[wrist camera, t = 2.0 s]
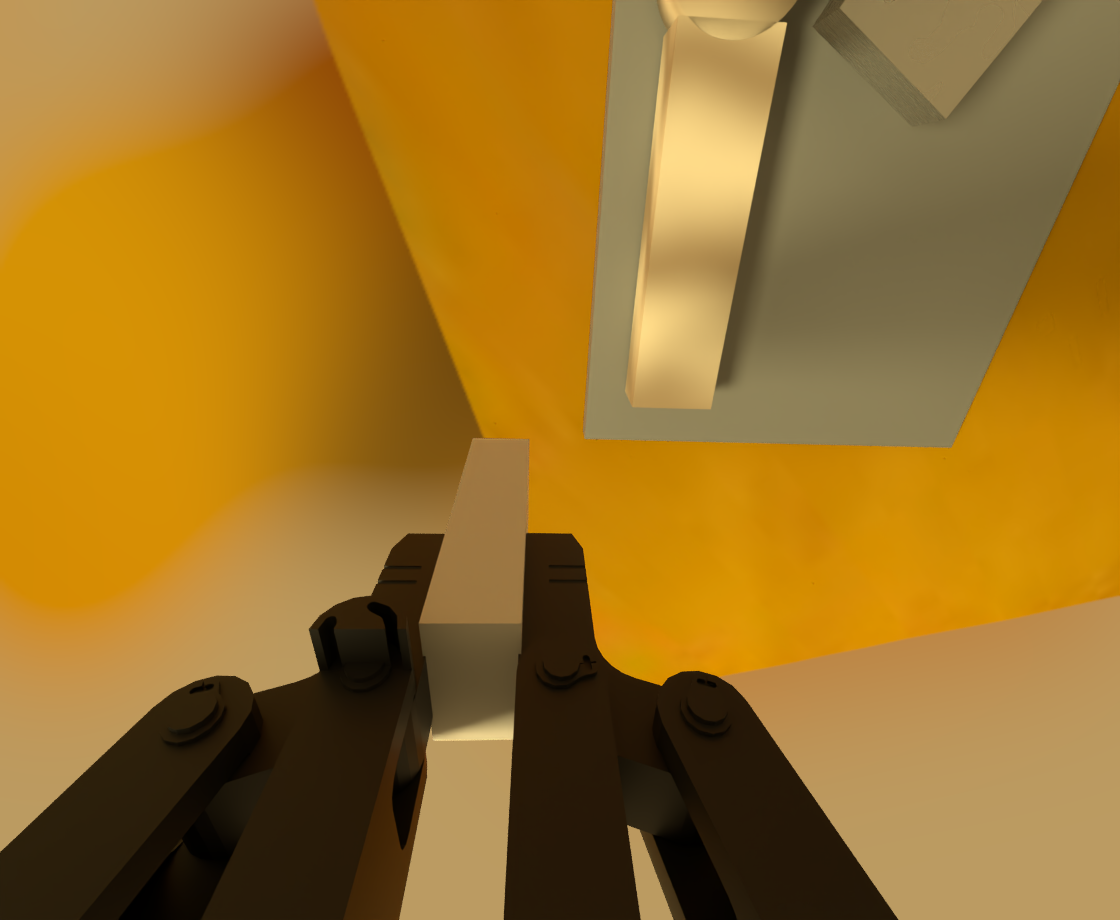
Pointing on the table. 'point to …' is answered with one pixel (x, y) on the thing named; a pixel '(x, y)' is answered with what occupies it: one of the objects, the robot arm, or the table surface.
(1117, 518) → the table surface
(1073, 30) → the base plate
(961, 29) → the beige block
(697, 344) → the link
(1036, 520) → the table surface
